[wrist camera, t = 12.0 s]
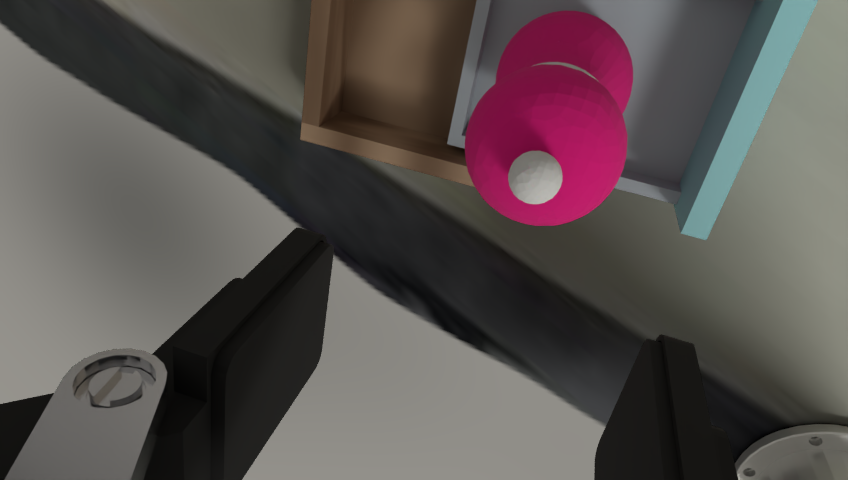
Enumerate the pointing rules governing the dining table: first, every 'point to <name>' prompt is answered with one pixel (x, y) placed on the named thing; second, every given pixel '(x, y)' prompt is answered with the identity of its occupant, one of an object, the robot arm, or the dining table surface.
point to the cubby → (388, 81)
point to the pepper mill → (553, 121)
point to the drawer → (666, 86)
